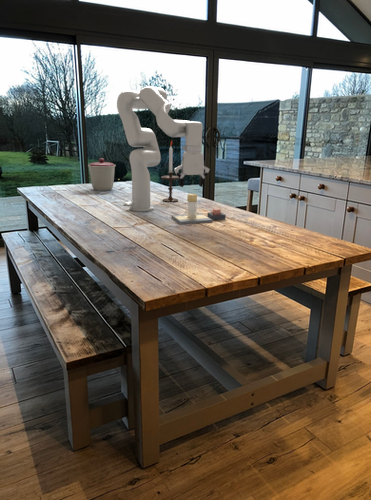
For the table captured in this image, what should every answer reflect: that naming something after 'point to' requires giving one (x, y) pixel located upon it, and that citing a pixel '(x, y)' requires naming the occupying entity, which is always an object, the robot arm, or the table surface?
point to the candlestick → (170, 178)
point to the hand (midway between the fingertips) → (191, 186)
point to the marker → (191, 205)
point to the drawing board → (191, 219)
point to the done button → (216, 211)
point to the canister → (102, 175)
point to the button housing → (216, 216)
